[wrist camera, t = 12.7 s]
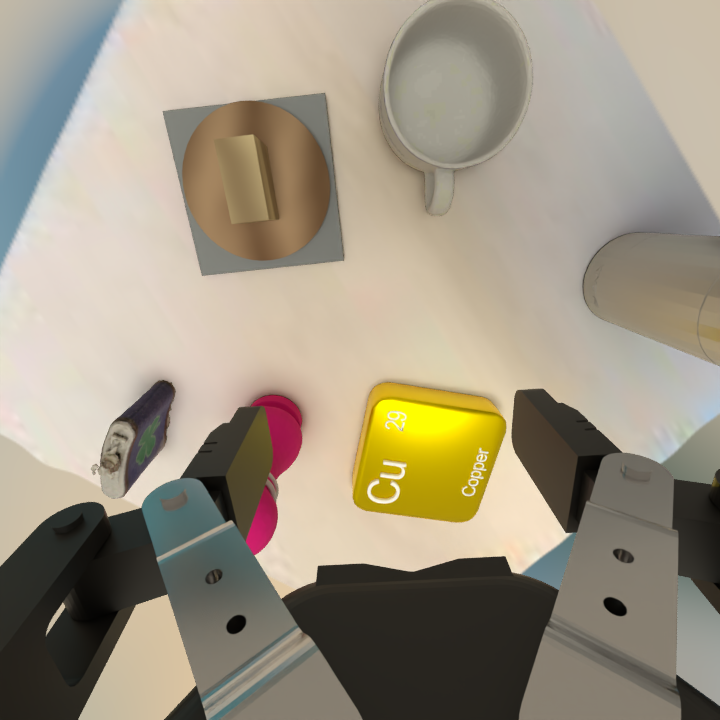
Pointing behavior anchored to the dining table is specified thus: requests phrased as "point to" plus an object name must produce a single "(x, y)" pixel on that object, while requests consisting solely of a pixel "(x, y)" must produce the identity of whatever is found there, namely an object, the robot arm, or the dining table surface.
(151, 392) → the flask
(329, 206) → the mat
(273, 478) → the pepper mill
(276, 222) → the lid
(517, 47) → the teacup
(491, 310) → the dining table surface
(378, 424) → the element tile
